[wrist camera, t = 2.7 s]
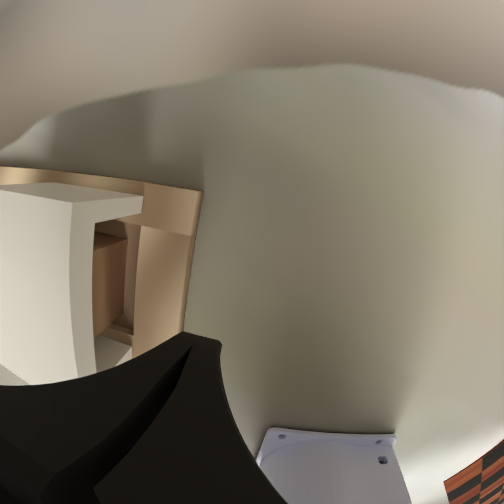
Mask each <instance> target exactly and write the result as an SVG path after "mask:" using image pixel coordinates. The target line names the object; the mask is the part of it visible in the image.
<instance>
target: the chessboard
mask: <svg viewBox="0 0 504 504" xmlns="http://www.w3.org/2000/svg"><path fill="white" fill-rule="evenodd" d="M444 485H445V489H446V493H447V496H448V500H449V504H501V503H502V502H504V440H503V441H502V442H500V443H499V444H498V445H497V446H495V447H494V448H493V449H492V450H490V451H489V452H488V453H486V454H485V455H484V456H482V457H481V458H479V459H478V460H477V461H475V462H474V463H472V464H471V465H469V466H468V467H466V468H465V469H463V470H462V471H460V472H459V473H457V474H455V475H454V476H452V477H451V478H449V479H447V480H446V481H444Z"/></svg>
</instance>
